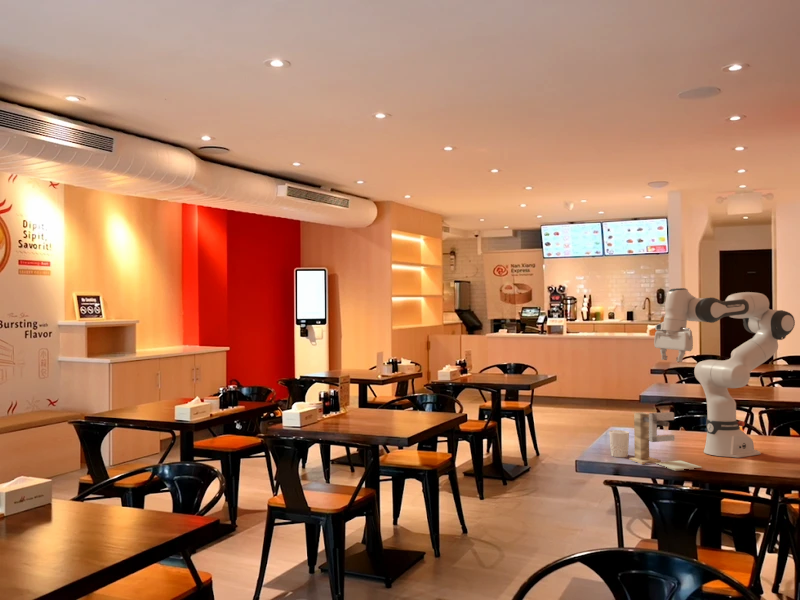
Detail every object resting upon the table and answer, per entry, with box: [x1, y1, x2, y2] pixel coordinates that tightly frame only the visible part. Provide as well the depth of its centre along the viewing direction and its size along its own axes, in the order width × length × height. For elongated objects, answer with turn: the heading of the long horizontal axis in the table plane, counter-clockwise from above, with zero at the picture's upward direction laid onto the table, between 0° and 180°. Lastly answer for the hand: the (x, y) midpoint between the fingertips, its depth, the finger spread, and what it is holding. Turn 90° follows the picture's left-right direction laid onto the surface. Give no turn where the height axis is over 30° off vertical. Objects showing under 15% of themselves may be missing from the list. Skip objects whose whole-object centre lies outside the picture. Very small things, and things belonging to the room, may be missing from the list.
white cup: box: [608, 429, 630, 458], centre depth 297 cm, size 8×8×10 cm
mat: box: [655, 460, 703, 472], centre depth 277 cm, size 12×12×1 cm
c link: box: [648, 411, 675, 443], centre depth 277 cm, size 10×2×11 cm, turn 107°
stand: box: [628, 412, 670, 465], centre depth 281 cm, size 9×18×19 cm, turn 17°
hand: (671, 360), depth 292 cm, fingers open, 8 cm apart
